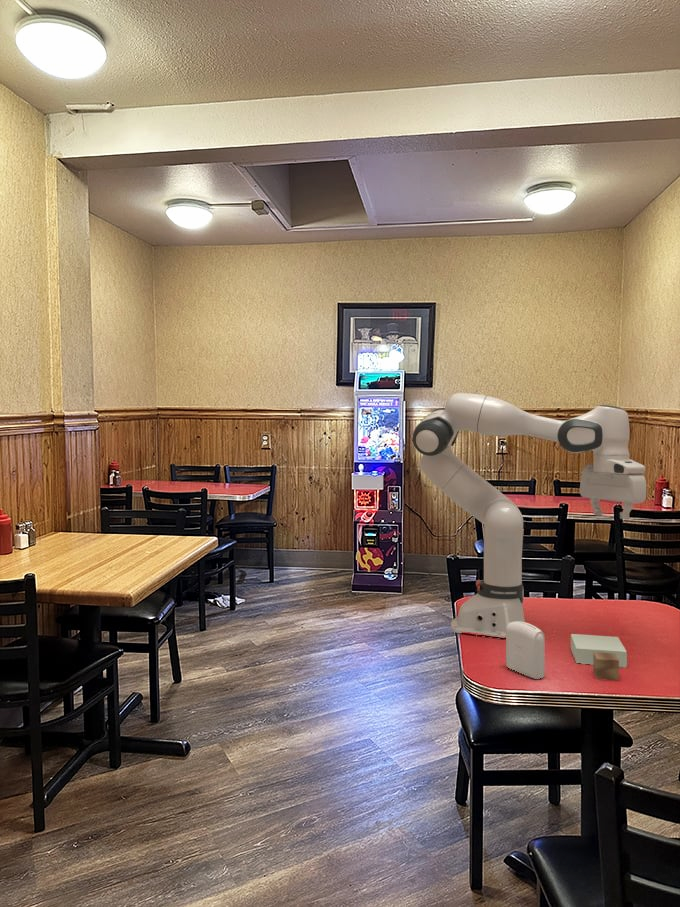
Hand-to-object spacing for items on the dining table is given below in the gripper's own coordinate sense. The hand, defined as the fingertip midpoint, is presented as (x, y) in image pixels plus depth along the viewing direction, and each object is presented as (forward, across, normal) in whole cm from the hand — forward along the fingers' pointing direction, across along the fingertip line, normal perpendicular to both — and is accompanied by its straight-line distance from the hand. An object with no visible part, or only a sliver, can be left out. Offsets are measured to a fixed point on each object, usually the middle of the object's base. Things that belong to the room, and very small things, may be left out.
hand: (610, 517), depth 171 cm
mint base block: (+36, +3, -7) cm, 37 cm away
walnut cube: (+37, +13, -14) cm, 41 cm away
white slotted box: (+37, +4, -31) cm, 48 cm away
